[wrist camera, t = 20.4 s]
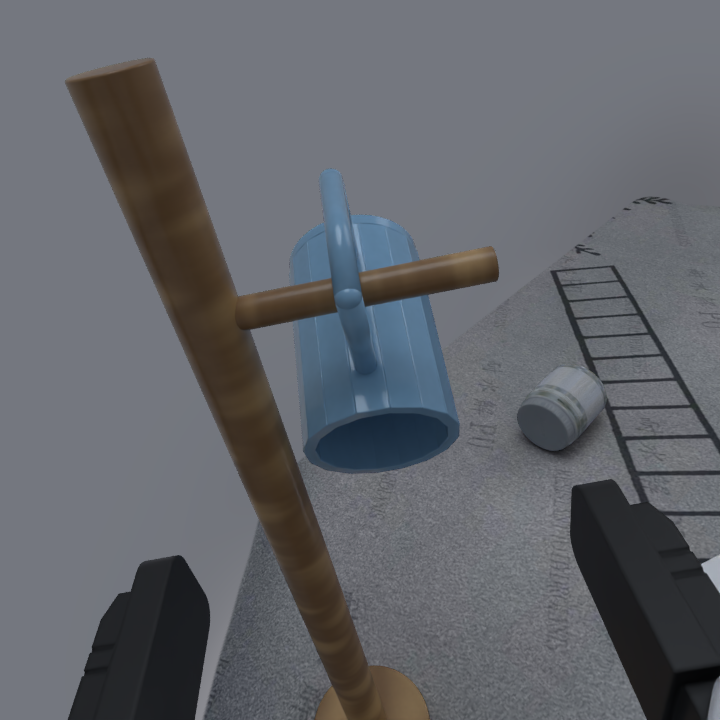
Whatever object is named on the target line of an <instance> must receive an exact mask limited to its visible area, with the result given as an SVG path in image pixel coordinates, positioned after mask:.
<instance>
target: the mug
mask: <svg viewBox="0 0 720 720" xmlns="http://www.w3.org/2000/svg"><path fill="white" fill-rule="evenodd" d="M319 187H320V195H321V202H322V211H323V218H324V223H322V224H320V225H318V226H316V227H314V228H313V229H311V230H310V231H309V232H307V233H306V234H305V235H304V236H303V237H302V238H301V239H300V240H299V241H298V243H297V244H296V245H295V247H294V249H293V251H292V253H291V257H290V263H289V265H290V266H289V267H290V273H289V281H290V286H293V285H298V284H303V283H308V282H314V281H319V280H324V279H329V278H331V279H332V286H333V294H334V301H335V304H336V308H337V311H338V312H337V313H332V314H327V315H322V316H317V317H312V318H307V319H302V320H297V321H293V330H294V342H295V354H296V367H297V380H298V391H299V404H300V416H301V429H302V441H303V452H304V453H305V455H306V457H307V458H308V460H309V462H311V463H312V464H314V465H316V466H318V467H321V468H323V469H325V470H328V471H335V472H342V473H349V474H350V473H351V474H356V473H376V472H377V473H379V472H384V471H390V470H396V469H402V468H405V467H408V466H411V465H414V464H418V463H421V462H424V461H427V460H429V459H431V458H433V457H434V456H436V455H438V454H440V453H442V452H443V451H445V450H447V449H448V448H449V447H450V446H451V445H452V444H453V443H454V442H455V441H456V439H457V438H458V437H459V427H460V423H459V419H458V415H457V411H456V407H455V403H454V399H453V395H452V391H451V386H450V382H449V378H448V374H447V370H446V366H445V362H444V358H443V354H442V350H441V346H440V342H439V338H438V333H437V329H436V325H435V321H434V317H433V313H432V309H431V305H430V301H429V297H428V295H424V296H419V297H414V298H409V299H404V300H399V301H394V302H388V303H383V304H378V305H373V306H368V307H365V305H364V301H363V297H362V291H361V285H360V279H359V272H364V271H369V270H374V269H379V268H384V267H389V266H394V265H399V264H404V263H409V262H414V261H419V256H418V252H417V250H416V247H415V244H414V242H413V239H412V238H411V236H410V235H409V233H408V232H407V231H406V230H405V229H404V228H402V227H401V226H400V225H398V224H396V223H395V222H393V221H391V220H388V219H385V218H382V217H378V216H372V215H350V210H349V205H348V201H347V196H346V191H345V187H344V182H343V178H342V175H341V174H340V172H339V171H337V170H336V169H332V168H330V169H326V170H324V171H323V172H322V173H321V174H320V177H319Z"/></svg>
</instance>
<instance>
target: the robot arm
mask: <svg viewBox="0 0 720 720" xmlns="http://www.w3.org/2000/svg"><path fill="white" fill-rule="evenodd" d="M570 538H571V544H572V548H573V552H574V555H575V558H576V561H577V564H578V566H579V568H580V571H581V573H582V575H583V577H584V580H585V582H586V584H587V586H588V589H589V591H590V593H591V595H592V598H593V600H594V602H595V604H596V606H597V609H598V611H599V613H600V615H601V618H602V620H603V622H604V624H605V627H606V629H607V631H608V633H609V636H610V638H611V640H612V642H613V645H614V647H615V649H616V651H617V654H618V656H619V658H620V660H621V662H622V665H623V667H624V669H625V671H626V674H627V676H628V678H629V680H630V683H631V685H632V687H633V689H634V692H635V694H636V696H637V698H638V701H639V703H640V705H641V707H642V710H643V712H644V714H645V716H646V719H647V720H720V593H719V591H718V590H717V588H716V587H715V585H714V584H713V582H712V581H711V579H710V578H709V576H708V574H707V573H705V572H704V571H703V567H702V565H701V564H700V562H699V561H698V559H697V558H696V556H695V555H694V553H693V552H691V551H690V549H689V545H688V544H687V542H686V541H685V539H684V538H683V536H682V535H681V533H680V532H679V530H678V529H677V527H676V526H675V524H674V523H673V521H671V520H670V519H669V518H668V517H666V516H665V515H664V514H663V513H661V512H660V511H659V510H657V509H656V508H655V507H654V506H652V505H651V504H650V503H649V502H645V503H639V504H633V505H630V504H629V503H628V501H627V499H626V498H625V496H624V494H623V493H622V491H621V489H620V488H619V486H618V485H617V483H616V482H615V481H614V480H612V479H609V480H604V481H598V482H592V483H587V484H581V485H576V486H573V488H572V496H571V523H570ZM209 627H210V609H209V603H208V600H207V597H206V595H205V593H204V591H203V589H202V588H201V586H200V584H199V583H198V581H197V579H196V578H195V576H194V575H193V573H192V571H191V569H190V568H189V566H188V564H187V563H186V561H185V559H184V558H183V557H182V556H179V555H177V556H171V557H166V558H160V559H155V560H149V561H144V562H143V563H141V564H140V566H139V567H138V570H137V572H136V576H135V579H134V583H133V586H132V589H131V592H126V593H120V594H118V596H117V597H116V599H115V600H114V602H113V603H112V604H111V606H110V607H109V609H108V610H107V612H106V613H105V615H104V616H103V618H102V619H101V621H100V624H99V627H98V631H97V633H96V636H95V639H94V643H93V645H92V653H90V654H89V657H88V660H87V663H86V666H85V669H84V671H85V675H84V676H83V677H82V678H81V681H80V685H79V687H78V690H77V693H76V696H75V699H74V702H73V705H72V708H71V712H70V715H69V717H68V720H195V714H196V708H197V701H198V695H199V689H200V683H201V677H202V671H203V664H204V658H205V652H206V646H207V640H208V633H209Z"/></svg>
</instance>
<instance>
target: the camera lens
mask: <svg viewBox="0 0 720 720" xmlns="http://www.w3.org/2000/svg"><path fill="white" fill-rule="evenodd" d="M606 401H607V397H606V391H605V388H604V386H603V384H602V382H601V381H600V379H599V378H598V377H597V376H596V375H595V374H594V373H592V372H591V371H590V370H588V369H586V368H584V367H582V366H579V365H574V364H564V365H560V366H558V367H556V368H555V369H554V370H553V371H552V372H551V373H550V374H549V375H548V376H547V377H546V378H545V379H544V380H543V381H542V382H541V383H540V384H539V385H538V386H537V387H536V388H535V389H534V390H533V391H532V392H531V393H530V394H529V395H528V396H527V397H526V399H525V400H524V401H523V403H522V405H521V407H520V408H519V411H518V414H517V420H518V424H519V426H520V428H521V430H522V431H523V433H524V434H525V436H526V437H527V438H528V439H529V440H531V441H532V442H533V443H534V444H536V445H537V446H539V447H541V448H544V449H547V450H551V451H559V450H562V449H564V448H565V447H566V446H568V445H570V444H571V443H573V442H574V441H575V440H576V439H578V438H579V437H580V435H581V434H582V433H583V432H584V431H585V429H586V428H587V427H588V426H589V425H590V424H591V422H592V421H593V420H594V419H595V418H596V417H597V415H598V414H599V413H600V412H601V411H602V410H603V409H604V407H605V405H606Z"/></svg>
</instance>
